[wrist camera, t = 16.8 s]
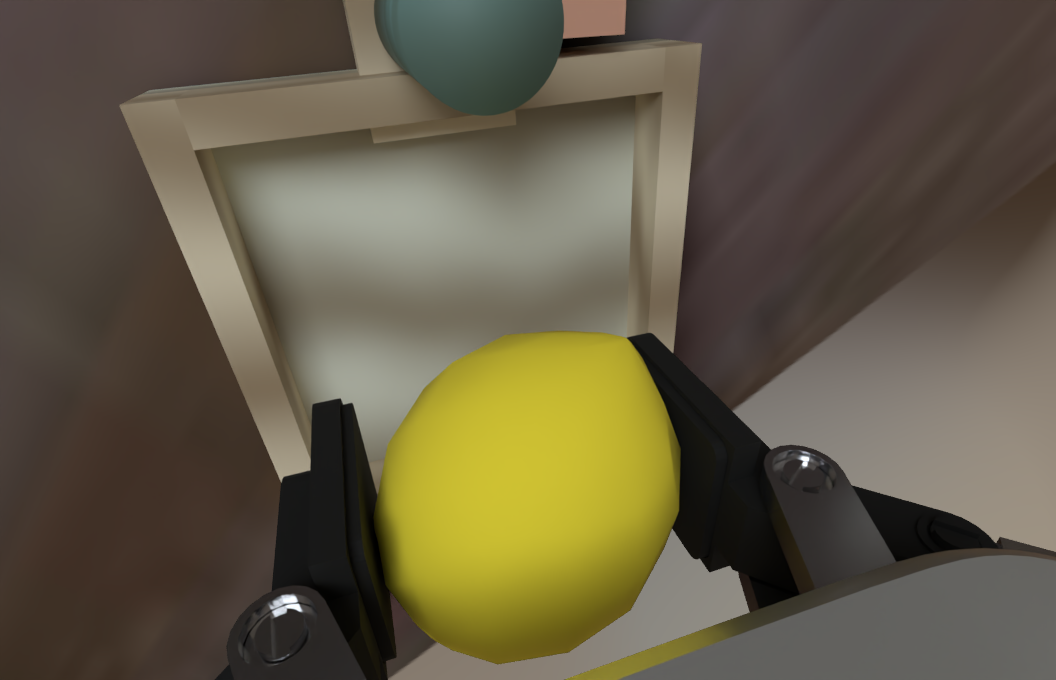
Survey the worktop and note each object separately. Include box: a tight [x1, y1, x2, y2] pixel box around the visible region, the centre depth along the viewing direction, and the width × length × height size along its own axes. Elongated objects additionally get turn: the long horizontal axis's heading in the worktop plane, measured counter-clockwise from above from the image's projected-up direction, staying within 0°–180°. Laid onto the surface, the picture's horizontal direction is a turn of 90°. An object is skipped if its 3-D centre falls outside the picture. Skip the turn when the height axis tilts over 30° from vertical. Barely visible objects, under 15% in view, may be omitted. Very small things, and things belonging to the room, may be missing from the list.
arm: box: [119, 0, 702, 496], centre depth 13 cm, size 19×13×7 cm
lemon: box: [373, 330, 681, 664], centre depth 11 cm, size 7×5×5 cm
